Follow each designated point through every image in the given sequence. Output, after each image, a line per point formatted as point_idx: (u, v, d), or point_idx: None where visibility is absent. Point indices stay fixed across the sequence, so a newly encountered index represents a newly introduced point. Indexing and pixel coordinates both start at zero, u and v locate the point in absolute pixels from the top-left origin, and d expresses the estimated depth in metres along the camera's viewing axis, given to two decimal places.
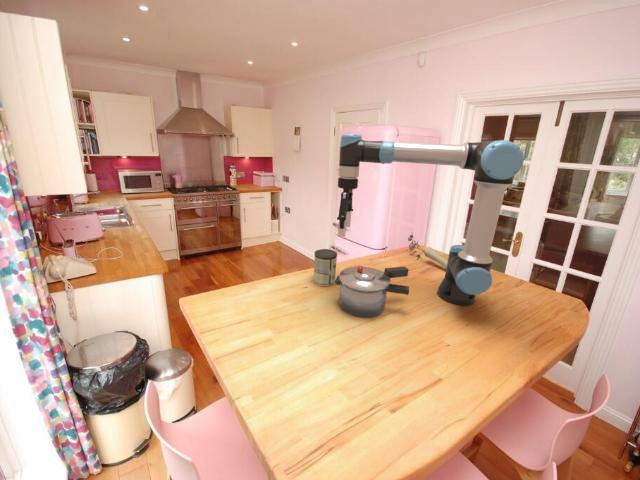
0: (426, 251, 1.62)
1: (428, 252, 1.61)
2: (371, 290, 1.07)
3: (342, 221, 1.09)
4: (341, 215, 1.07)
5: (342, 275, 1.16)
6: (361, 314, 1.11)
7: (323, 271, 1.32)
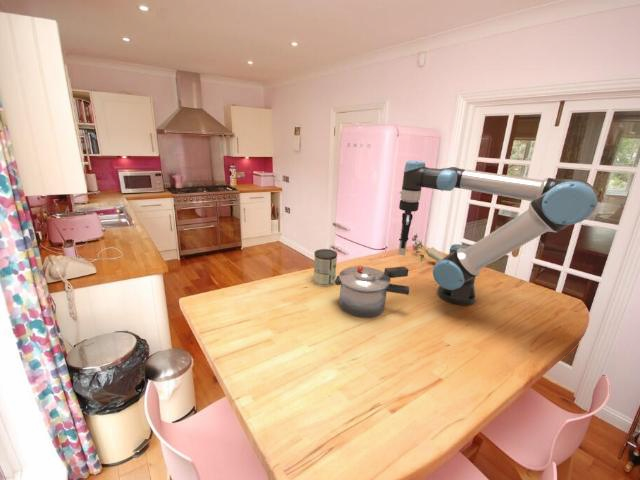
0: (429, 251, 1.62)
1: (431, 252, 1.61)
2: (371, 290, 1.07)
3: (404, 242, 1.25)
4: (404, 238, 1.22)
5: (342, 275, 1.16)
6: (361, 314, 1.11)
7: (323, 271, 1.32)
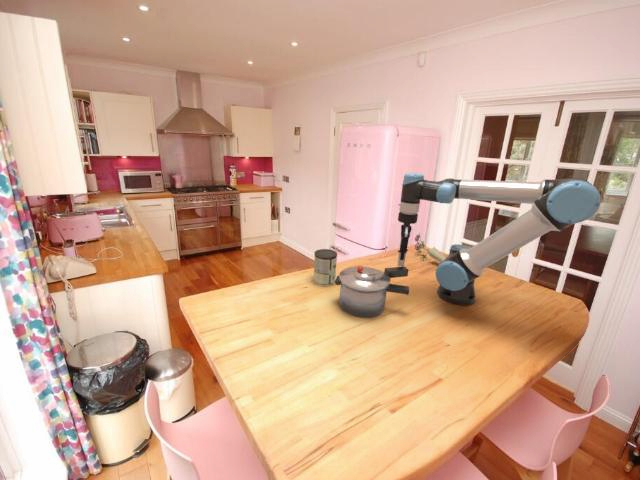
0: (430, 251, 1.62)
1: (432, 252, 1.61)
2: (371, 290, 1.07)
3: (403, 253, 1.24)
4: (403, 250, 1.22)
5: (342, 275, 1.16)
6: (361, 314, 1.11)
7: (323, 271, 1.32)
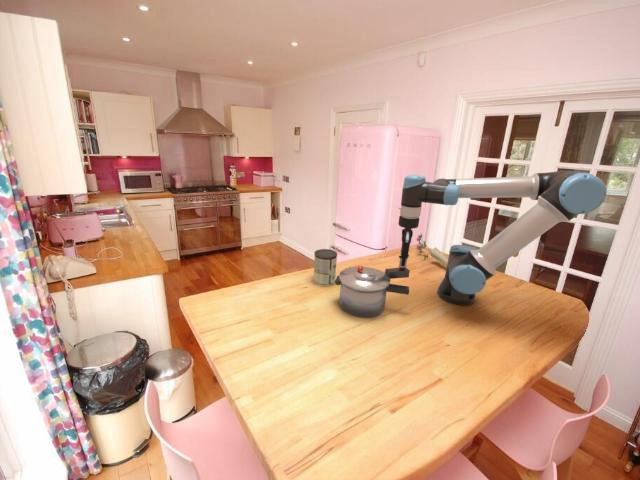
0: (432, 251, 1.62)
1: (434, 252, 1.61)
2: (370, 290, 1.07)
3: (404, 259, 1.19)
4: (404, 256, 1.16)
5: (342, 274, 1.17)
6: (361, 314, 1.11)
7: (323, 271, 1.32)
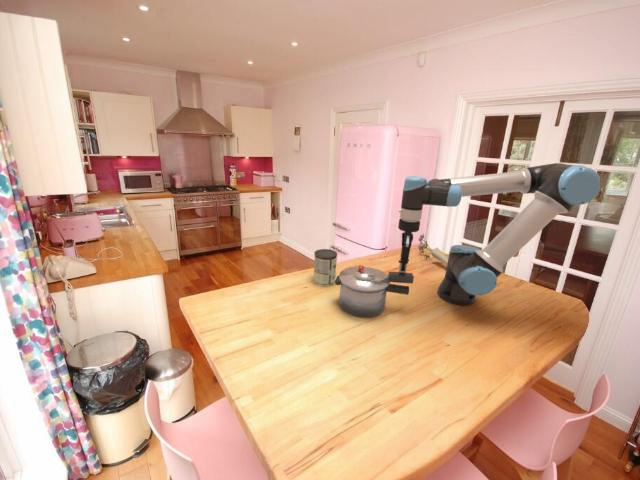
0: (433, 251, 1.62)
1: (435, 252, 1.61)
2: (362, 289, 1.07)
3: (404, 264, 1.14)
4: (404, 260, 1.12)
5: (343, 272, 1.19)
6: (361, 314, 1.11)
7: (323, 271, 1.32)
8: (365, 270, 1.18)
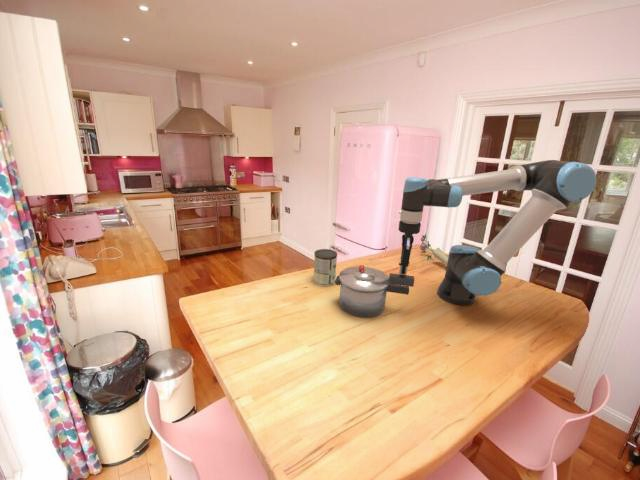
0: (434, 251, 1.62)
1: (436, 253, 1.61)
2: (358, 289, 1.07)
3: (404, 267, 1.12)
4: (404, 263, 1.09)
5: (344, 271, 1.20)
6: (361, 314, 1.11)
7: (323, 271, 1.32)
8: (366, 270, 1.18)
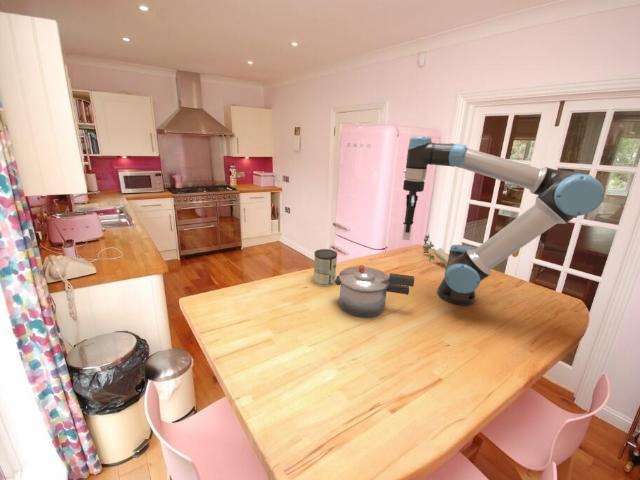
0: (436, 252, 1.62)
1: (438, 253, 1.61)
2: (358, 289, 1.07)
3: (408, 225, 1.16)
4: (409, 221, 1.13)
5: (344, 271, 1.20)
6: (361, 314, 1.11)
7: (323, 271, 1.32)
8: (366, 270, 1.18)
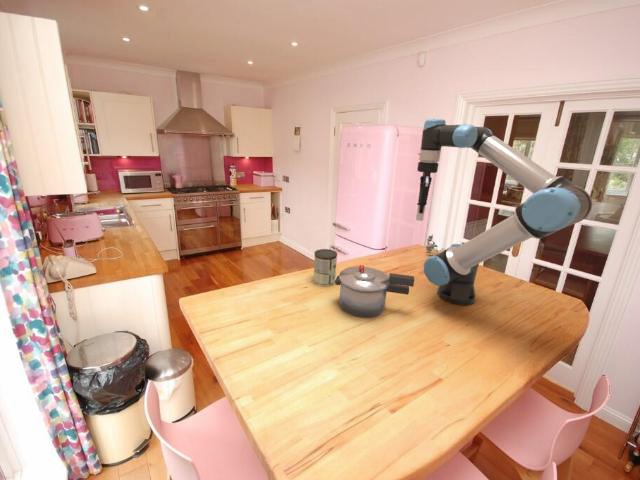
0: (438, 252, 1.61)
1: None
2: (358, 289, 1.07)
3: (422, 206, 1.20)
4: (423, 201, 1.18)
5: (344, 271, 1.20)
6: (361, 314, 1.11)
7: (323, 271, 1.32)
8: (366, 270, 1.18)
